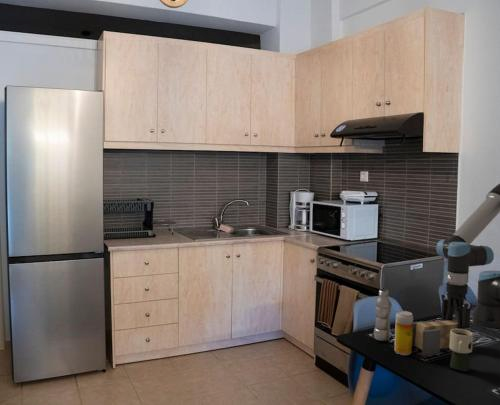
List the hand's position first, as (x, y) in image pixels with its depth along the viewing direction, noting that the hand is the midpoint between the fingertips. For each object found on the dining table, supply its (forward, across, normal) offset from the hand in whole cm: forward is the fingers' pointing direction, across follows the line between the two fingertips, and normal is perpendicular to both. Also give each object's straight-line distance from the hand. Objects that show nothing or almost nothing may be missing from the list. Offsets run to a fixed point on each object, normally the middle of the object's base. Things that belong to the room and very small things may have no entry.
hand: (453, 341), depth 188 cm
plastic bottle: (+1, -13, -24) cm, 27 cm away
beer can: (+1, 0, -24) cm, 24 cm away
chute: (+1, 0, -15) cm, 15 cm away
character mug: (+1, +18, -14) cm, 23 cm away
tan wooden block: (+1, 0, -6) cm, 7 cm away
